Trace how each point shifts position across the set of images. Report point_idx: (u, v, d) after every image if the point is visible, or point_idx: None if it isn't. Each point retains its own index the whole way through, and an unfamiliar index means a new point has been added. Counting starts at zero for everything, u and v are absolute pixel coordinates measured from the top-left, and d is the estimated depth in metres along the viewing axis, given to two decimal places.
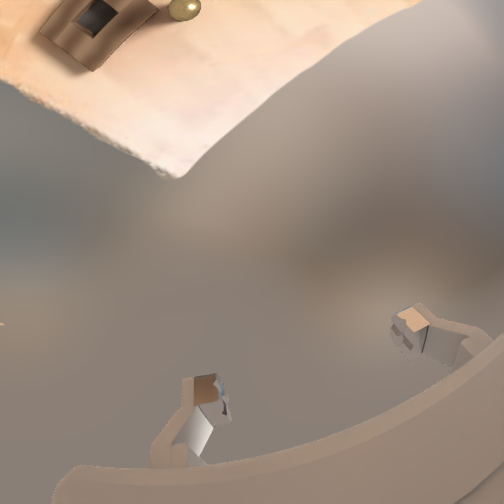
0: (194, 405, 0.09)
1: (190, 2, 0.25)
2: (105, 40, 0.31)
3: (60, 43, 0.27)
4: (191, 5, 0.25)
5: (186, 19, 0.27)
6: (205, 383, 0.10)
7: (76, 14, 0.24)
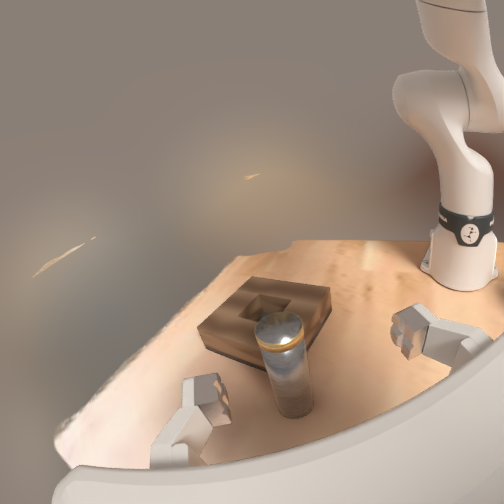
0: (194, 405, 0.09)
1: (288, 328, 0.25)
2: (234, 327, 0.41)
3: (235, 294, 0.49)
4: (284, 331, 0.24)
5: (258, 336, 0.25)
6: (205, 383, 0.10)
7: (267, 295, 0.47)
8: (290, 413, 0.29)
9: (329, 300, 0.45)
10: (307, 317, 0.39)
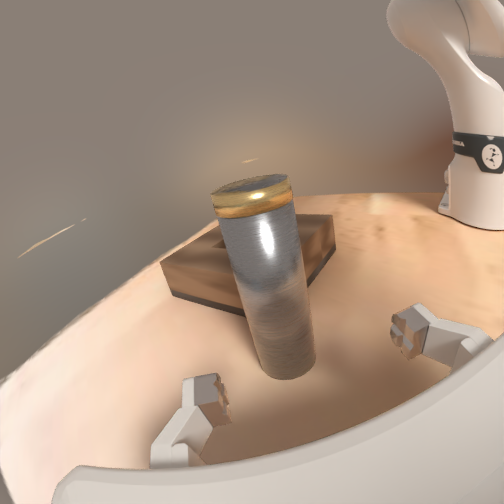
0: (194, 405, 0.09)
1: (265, 182, 0.15)
2: (204, 257, 0.31)
3: (214, 230, 0.39)
4: (258, 184, 0.15)
5: (215, 194, 0.15)
6: (205, 383, 0.10)
7: None
8: (278, 368, 0.19)
9: (332, 232, 0.35)
10: (304, 240, 0.29)
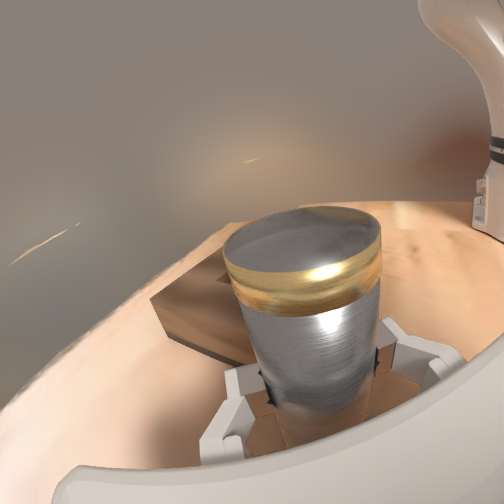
0: (241, 396, 0.09)
1: (336, 232, 0.07)
2: (207, 296, 0.23)
3: (218, 253, 0.32)
4: (325, 238, 0.07)
5: (234, 257, 0.07)
6: (249, 373, 0.10)
7: None
8: None
9: None
10: None
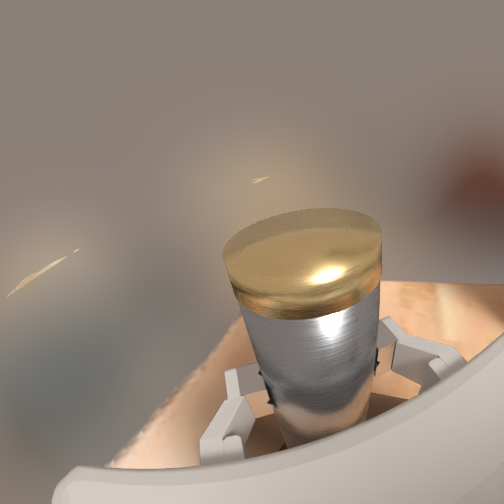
0: (241, 395, 0.09)
1: (337, 234, 0.07)
2: None
3: None
4: (325, 241, 0.07)
5: (234, 260, 0.07)
6: (249, 373, 0.10)
7: None
8: None
9: None
10: None
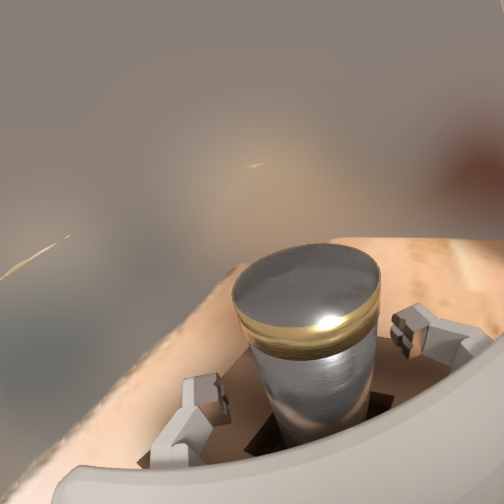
0: (194, 405, 0.09)
1: (339, 279, 0.08)
2: None
3: (238, 369, 0.18)
4: (328, 287, 0.07)
5: (243, 306, 0.08)
6: (205, 383, 0.10)
7: None
8: None
9: None
10: None
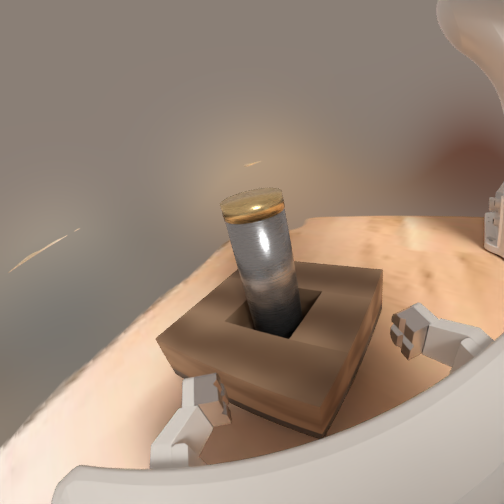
0: (194, 405, 0.09)
1: (263, 195, 0.19)
2: (218, 341, 0.21)
3: (225, 284, 0.30)
4: (257, 197, 0.19)
5: (224, 205, 0.19)
6: (205, 383, 0.10)
7: None
8: None
9: (381, 292, 0.25)
10: (357, 322, 0.20)
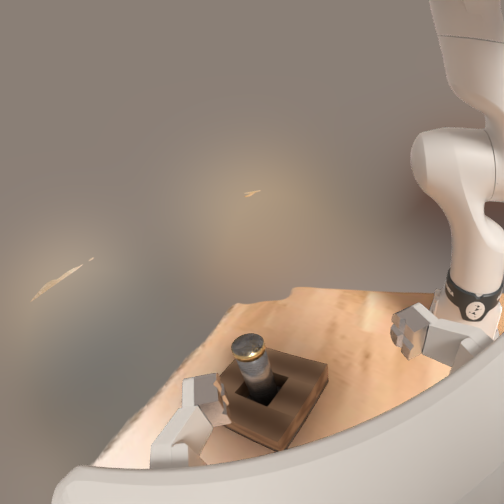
0: (194, 405, 0.09)
1: (254, 346, 0.36)
2: (231, 405, 0.38)
3: (233, 364, 0.46)
4: (251, 348, 0.36)
5: (233, 350, 0.36)
6: (205, 383, 0.10)
7: None
8: None
9: (326, 374, 0.42)
10: (303, 400, 0.36)
